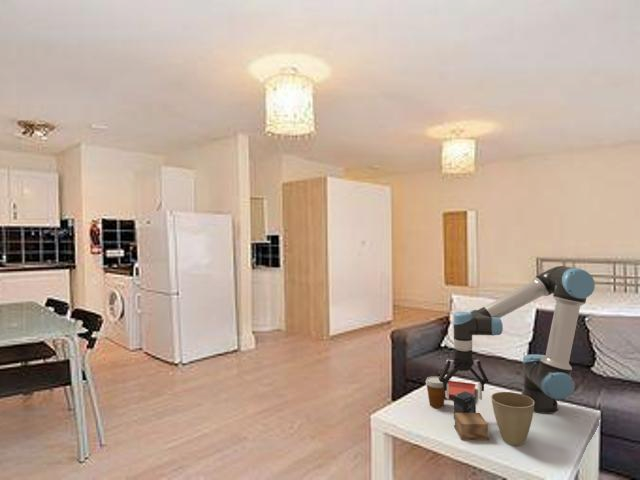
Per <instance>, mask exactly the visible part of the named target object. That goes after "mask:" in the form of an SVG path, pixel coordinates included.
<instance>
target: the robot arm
mask: <svg viewBox="0 0 640 480" xmlns="http://www.w3.org/2000/svg"><path fill="white" fill-rule="evenodd" d="M595 288H596V282H595V279H594V278H593V276H592V275H591V273H589V272H588V271H586V270H584V269H582V268H578V267H571V266H564V265H558V266H554V267H552V268H550V269H547V270H546V271H543V272H541V273H540V274H538V275H536V276H534V277H533V278H532V281H530V282H528V283H526V284H524V285H523V286H521V287H519V288H516V289H515V290H513V291H511V292H510V293H507V294H505V295H504V296H502V297H500V298H498V299H496V300H495V301H492V302H490V303H489V304H487V305H485V306H483V307H480V308H479V309H471V310H470V311H469V312H468V311H456V312H454V313H453V321H452V323H453V359H448V358H446V360H445V365H444V367H443V369H442V371H441V373H440V375H439V376H438V377H439V381H440V382H443V389H444V391H446V398H445V399H446V400H450V399H449V384H448V381H451V379H452V377H453V376H454V375H456V373H458V372H469V371H470V372H471V373H472V375H474V376H475V378H476V379H477V380H478V382H477V397H478V399H479V400H480V401H481V400H483V396H482V395H483V394H482V393H483V392H484V391H485V384H486V383H489V382H490V380H489V379H488V377H487V375H486V373H485V372H484V369H483V368H482V363H481V361H480V360H479V359H478V358H477V359H475V360H473V336H493V337H494V336H501V335H502V333H503V329H504V328H503V321H502V319H501V318H503V317H505V316H506V315H508V314H511V313H513V312H515V311H516V310H518V309H521V308H522V307H524V306H526V305H528V304H530V303H531V302H533V301H536V300H538V299H539V298H541V297H543V296H544V297H548V296H550V295H552V294H553V295H552V297H553V298H554V300H555V306H554V310H553V311H554V312H553V317H552V320H551V326H550V331H549V336H548V342H547V346H546V352H545V355H544V354H537V353H536V354H532V353H531V354H526V355H524V356H523V357H522V377H523V379H522V380H523V381H522V382H523V389H522V391H521V394H522V395H525V396H528V397H530V398H531V399H533V400H534V402H535V404H534V411H533V413H539V414H552V413H553V414H554V413H556V412H557V411H558V410H559V408H558V401H557V400H564V399H566V398H568V397H569V396H571V395H572V394H573V392H574V390H575V382H574V380H573V378H572V376H571V375H572V371H573V368H572V366H571V364H570V358H571V353H572V348H573V343H574V340H575V339H574V338H575V333H576V330H577V324H578V319H579V313H580V309H581V307H582V306H583V305H586V302H587V298H588V297H589V296H592V295H593V293H594V291H595ZM452 365H453V367H452V368H451V369H450V367H451V366H452ZM474 365H475V366H476V367H477V369H478V371H479V373H480V375H481V377H482V378H481V377H480V375H478V373H477V372H476V371H475V369H473V366H474ZM449 369H450V371H449ZM448 371H449V372H448Z"/></svg>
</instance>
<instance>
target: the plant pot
mask: <svg viewBox="0 0 640 480" xmlns="http://www.w3.org/2000/svg"><path fill="white" fill-rule="evenodd" d="M491 403H492V410H493V413H494V417H495V420H496V424H497V428H498V429H499V433H500V436H501V438H502V441H503V442H504V443H506V444H508V445H512V446H523V445H524V444H525V442H526V439H528V435H529V432H530V429H531V425H532V421H533V418H534V417H533V416H534V412H533V411H534V404H535V402H534V400H533V399H531V398H530V397H528V396H525V395H522V393H517V392H511V391H499V392H495V393H493V394H491Z"/></svg>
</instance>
